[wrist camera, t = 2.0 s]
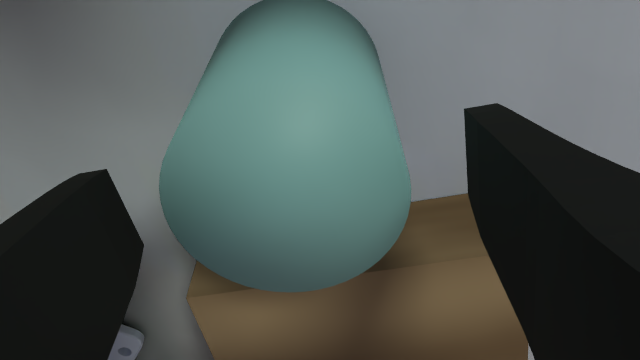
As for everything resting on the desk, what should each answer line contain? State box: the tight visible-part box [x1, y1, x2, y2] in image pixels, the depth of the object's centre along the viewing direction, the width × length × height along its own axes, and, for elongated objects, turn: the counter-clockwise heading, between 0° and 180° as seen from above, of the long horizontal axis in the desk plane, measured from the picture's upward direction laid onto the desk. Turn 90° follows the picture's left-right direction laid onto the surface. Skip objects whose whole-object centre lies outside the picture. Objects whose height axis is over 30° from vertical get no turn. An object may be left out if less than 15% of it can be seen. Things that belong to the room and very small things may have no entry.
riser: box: [186, 194, 528, 360], centre depth 19 cm, size 10×10×3 cm
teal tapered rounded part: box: [159, 0, 411, 292], centre depth 13 cm, size 5×5×6 cm
